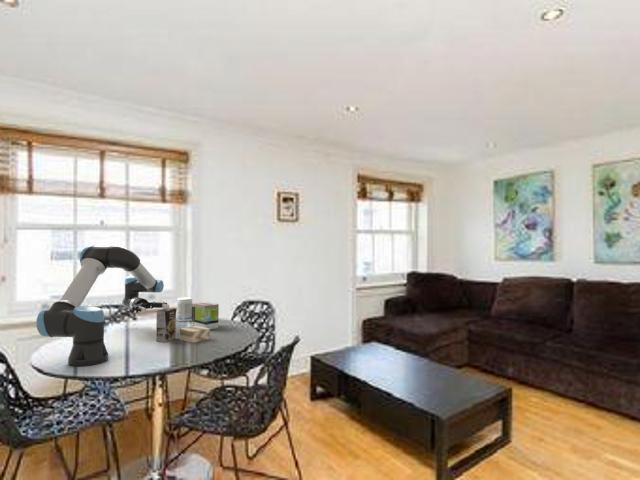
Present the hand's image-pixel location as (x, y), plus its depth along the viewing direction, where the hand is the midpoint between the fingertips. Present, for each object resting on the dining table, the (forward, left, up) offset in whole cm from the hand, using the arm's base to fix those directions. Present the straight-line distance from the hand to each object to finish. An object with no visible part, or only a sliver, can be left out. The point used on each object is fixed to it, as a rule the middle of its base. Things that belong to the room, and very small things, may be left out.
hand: (157, 308), depth 222 cm
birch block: (+11, -21, -15) cm, 28 cm away
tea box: (+31, 0, -15) cm, 34 cm away
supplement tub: (+34, +28, -15) cm, 46 cm away
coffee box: (0, -11, -15) cm, 19 cm away
